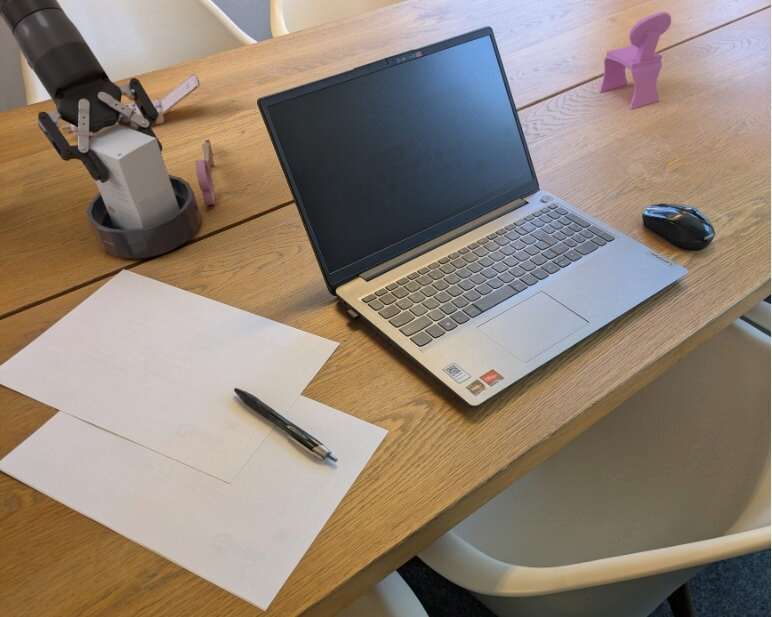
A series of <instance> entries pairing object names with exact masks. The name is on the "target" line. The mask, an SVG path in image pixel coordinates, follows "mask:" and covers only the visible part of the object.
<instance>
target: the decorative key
mask: <svg viewBox="0 0 772 617" xmlns="http://www.w3.org/2000/svg"><path fill="white" fill-rule="evenodd" d="M201 147H202V152H203V159H199V160H195V172H196V177H197V181H198V185H199V189H200V192H202V194H201V195H202V198H203V203H204V205H205V206H211V205H215V204H216V198H215V192H214V191H215V190H214V182H213V181H214V180H213V178H212V175H211V173H212V169H211V167H214V166H215V161H214V157H213V155H214V153H213V148H212V144H211V140H210V139H205V140H204V143H201Z"/></svg>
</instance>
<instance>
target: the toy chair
mask: <svg viewBox="0 0 772 617" xmlns="http://www.w3.org/2000/svg"><path fill="white" fill-rule="evenodd" d="M671 24H672V17H671V14H670V13H669V12H665V11H662V12H657V13H654V14H653V13H652V14H651V15H648V16H647V17H644V18H642V19H641V20H640V21H637V23H635V24H634V25H633V26H632V28H631V29H630V31H629V43H630V44H629V45H627V46H625V47H621V48H617V49H611V50H609V51H606V56H605V57H604V59H603V64H604V65H603V66H604V68H603V76H602V81H601V85H600V88H599V93H604V92H607V91H610V90H613V89H618V88H621V87H623V86H627V85H628V80H627V76H626V68H627V69H628V70H629V71H630V72H631V73H630V74H631V76H632V80H633V84H634V91H633V96H632V99H631V102H630V105H629V110H634V109H638V108H641V107H644V106H647V105H651V104H653V103H654V104H655V103H657V102H659V101H660V99H659V95H658V91H657V82H658V78H659V75H660V72H661V69H662V64H663V63H662V58H663V55H661V54H660V53H657V52H656V49H657V46H658V43H659V40H660V37H661V36H662V35H663V34H664V33H666V32H667V31H668V29H670V26H671Z"/></svg>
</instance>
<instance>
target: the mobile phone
mask: <svg viewBox="0 0 772 617" xmlns="http://www.w3.org/2000/svg"><path fill="white" fill-rule="evenodd" d="M200 86H201V84H200V81H199V78H198V76H197V75H196V74H194V73H192V74H190V75H189V76H188V77H187V78H185V79H184V80H183V81H182V82H181V83H179V84H178V85H177V86H176V87H175V88H173V89H172V90H170V92H168V93H167V94H166V95H165V96H163V97H162V98H161V99H157V98H155V99H152V100H151V99H150V100H151V102H152V103H153V105H154V107H155V108H156V110H157V112H158V114H159V116H158V118H157V121H156V124H155V125H154V126H156V125H160V124H161V125H162V124H164V123H165V118H164V115H165V114H166V113H168V112H169V111H170V110H171V109H172V108H174V107H175V106H176V105H178V104H179V103H180V102H181V101H182V100H184V99H185V98H186V97H188V96H189V95H190V94H191V93H193V92H194V91H196V90H197V89H198V88H199V87H200ZM124 105H126V106H128V107H129V108H131V109H132V110H133V111H134V112H135V113H136V114H138V115H140V116H141V117H143V115H142V114H141V112H140V110H139V109H138V107H137V105H136V104H135V102H133V103H125V104H124ZM143 118H144V117H143ZM117 124H118V123H116V124H115V125H117ZM115 125H113V126H115ZM113 126H111V127H113ZM111 127H104V128H102V129H101V130H100V131H98V132H96V133H93V132H89V137H93V136H95V135H97V134H99V133H101V132H103V131H105V130H107V129H109V128H111ZM61 129H62V131H67V130H71V131H72V134H73V135H74V137H77V127H76V126H74V125H72V124H70V123H68V124H65V125H62V126H61Z"/></svg>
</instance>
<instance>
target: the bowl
mask: <svg viewBox="0 0 772 617" xmlns="http://www.w3.org/2000/svg"><path fill="white" fill-rule="evenodd" d="M168 176H169V179H170V182H171V185H172V188H173V191H174V194H175V197H176V200H177V203H178V206H179V209H180V210H179V211H178V212H177V213H175V214H174V215H173V216H172V217H170V218H168V219H166V220H164V221H162V222H160V223H157V224H154V225H151V226H147V227H144V228H138V229H130V230H123V229H121V228H119V227H117V226H115V225H113V223H112V221H111V218H110V216H109V213H108V211H107V208H106V206H105V203H104V201H103V198H102V196H101V194H100V192H98V193H97V194H96V195H95V196H94V197H93V199H92V200H91V201H90V202H89V204H88V207H87V210H86V215H87V216H86V217H87V219H88V222H89V224H90V227H91V229H92V231H93V233H94V236H95V238H96V240H97V243H98V245H99V247H100V248H101V249H102V250H103V251H104V252H106V254H108V255H111V256H115V257H118V258H121V259H130V260H131V259H133V260H135V259H136V260H139V259H148V258H154V257H158V256H161V255H164V254H167V253H170V252H171V251H174V250H176V249H178V248H179V247H181V246H182V245H183V244H185V243H186V242H187V241H188V240H190V239H191V238H192V237H193V236H194V235H195V233H196V232H197V230H198V229H199V227H200V222H201V214H200V210H199V207H198V204H197V200H196V197H195V196H196V195H195V192H194V190H193V188H192V186H191V184H190V183H189V182H188V181H186V180H184V179H183V178H182V177H179V176H177V175H172V174H168Z"/></svg>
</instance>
